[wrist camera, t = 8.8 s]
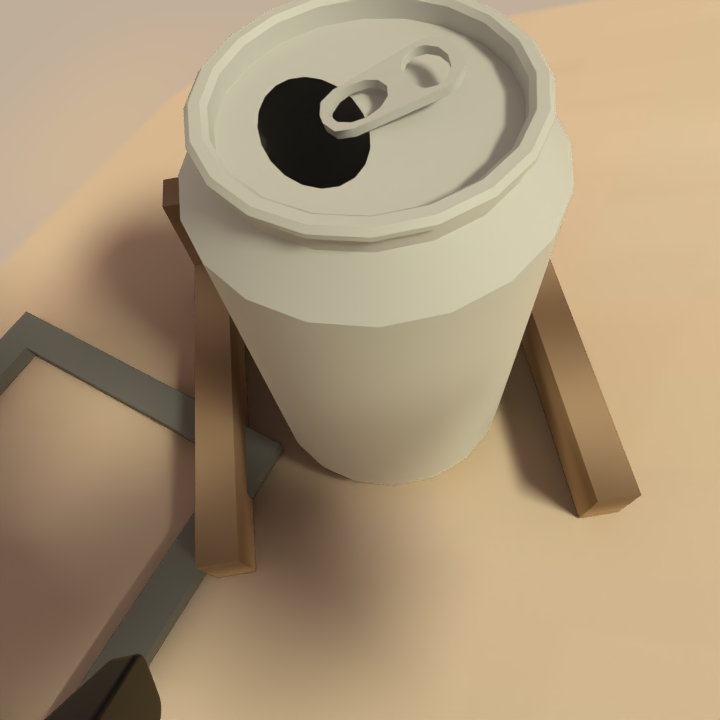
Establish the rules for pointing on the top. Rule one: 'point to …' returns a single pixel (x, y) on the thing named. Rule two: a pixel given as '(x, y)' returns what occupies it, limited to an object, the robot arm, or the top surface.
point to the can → (378, 218)
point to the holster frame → (171, 410)
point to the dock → (230, 414)
